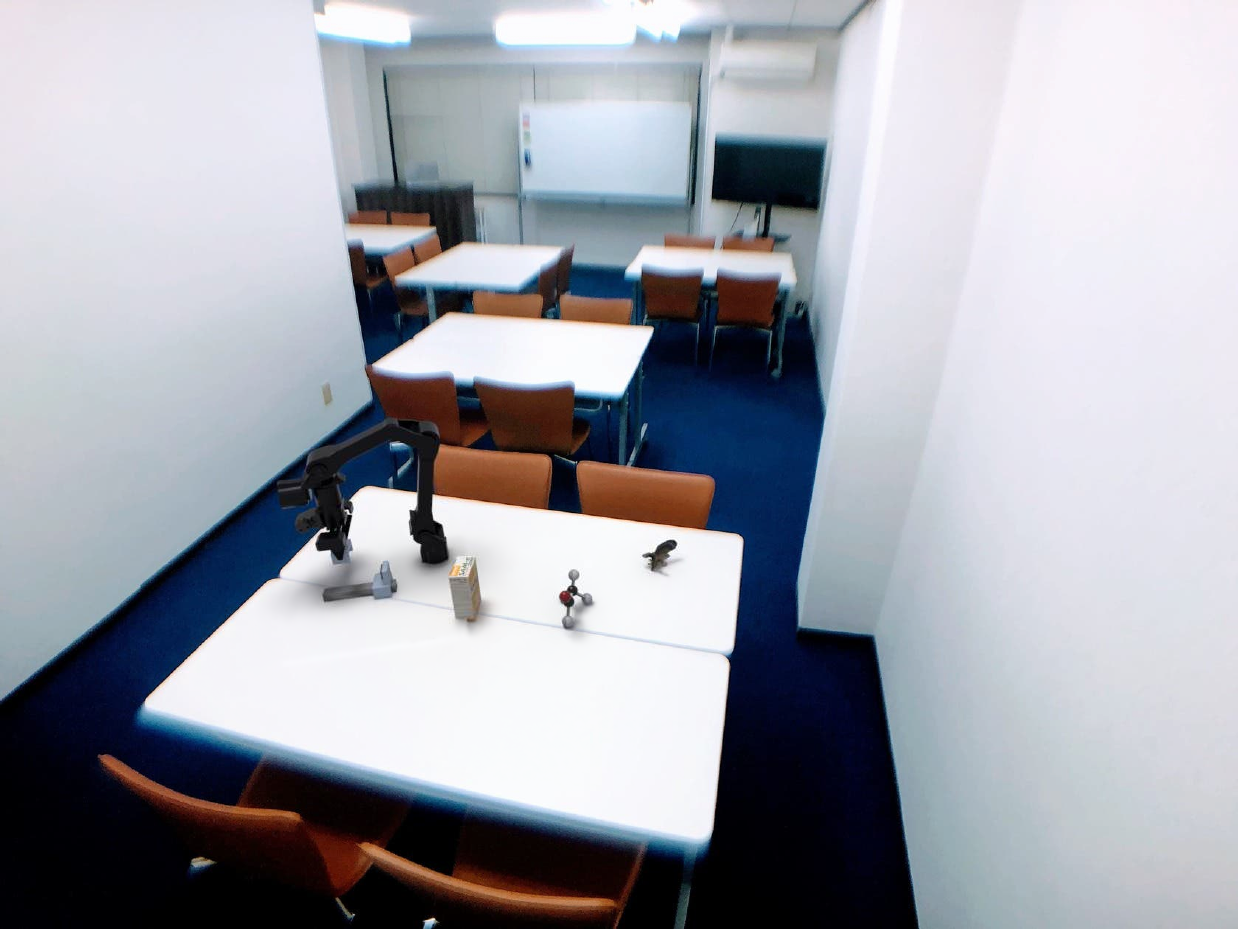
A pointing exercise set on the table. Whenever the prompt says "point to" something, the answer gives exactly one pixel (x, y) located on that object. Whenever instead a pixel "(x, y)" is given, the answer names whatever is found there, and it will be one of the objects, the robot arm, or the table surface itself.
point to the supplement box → (465, 588)
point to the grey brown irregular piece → (660, 553)
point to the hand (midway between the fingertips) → (342, 552)
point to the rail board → (352, 591)
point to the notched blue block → (346, 554)
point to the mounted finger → (382, 582)
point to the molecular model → (569, 600)
